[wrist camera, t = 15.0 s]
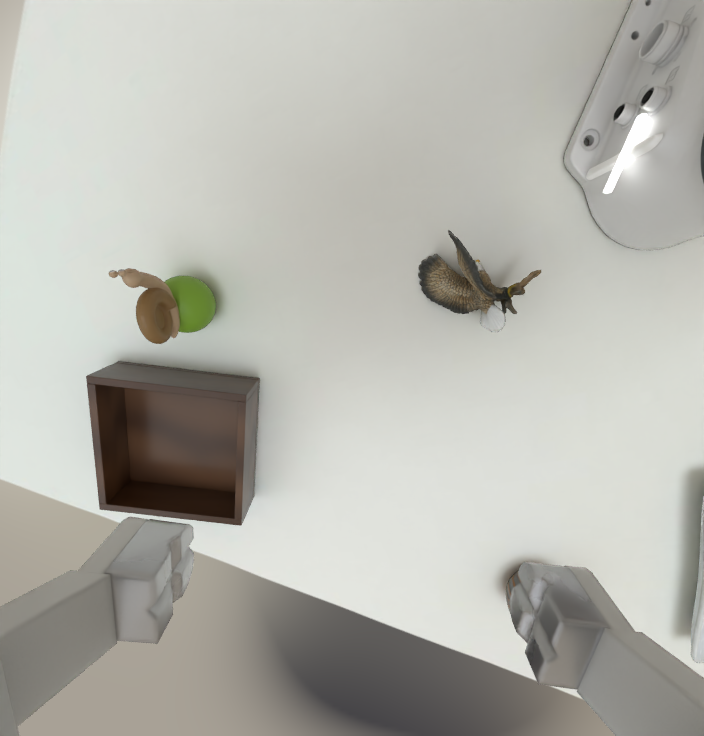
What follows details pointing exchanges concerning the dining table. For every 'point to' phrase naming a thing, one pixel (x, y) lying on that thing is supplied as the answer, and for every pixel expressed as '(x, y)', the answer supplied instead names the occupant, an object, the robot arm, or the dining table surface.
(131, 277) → the snail figurine
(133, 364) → the crate
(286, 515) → the dining table surface
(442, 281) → the eagle figurine
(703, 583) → the square plate
